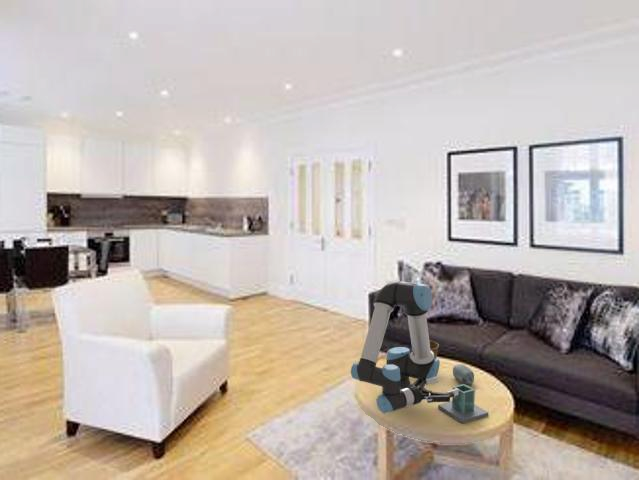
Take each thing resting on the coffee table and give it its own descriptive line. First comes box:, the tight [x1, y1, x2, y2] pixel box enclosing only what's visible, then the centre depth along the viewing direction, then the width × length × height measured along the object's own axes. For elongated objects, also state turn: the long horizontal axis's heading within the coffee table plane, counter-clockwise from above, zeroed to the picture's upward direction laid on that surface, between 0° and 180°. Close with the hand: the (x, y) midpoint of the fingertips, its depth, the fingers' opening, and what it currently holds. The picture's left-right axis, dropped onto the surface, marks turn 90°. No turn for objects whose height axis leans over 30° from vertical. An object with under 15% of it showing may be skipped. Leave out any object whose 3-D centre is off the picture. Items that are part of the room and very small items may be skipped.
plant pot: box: [429, 339, 440, 358], centre depth 254 cm, size 15×15×16 cm
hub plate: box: [437, 400, 489, 424], centre depth 208 cm, size 16×16×9 cm
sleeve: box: [451, 383, 476, 413], centre depth 207 cm, size 7×7×10 cm
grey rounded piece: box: [452, 363, 475, 385], centre depth 241 cm, size 14×10×10 cm
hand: (447, 385), depth 201 cm, fingers open, 13 cm apart
